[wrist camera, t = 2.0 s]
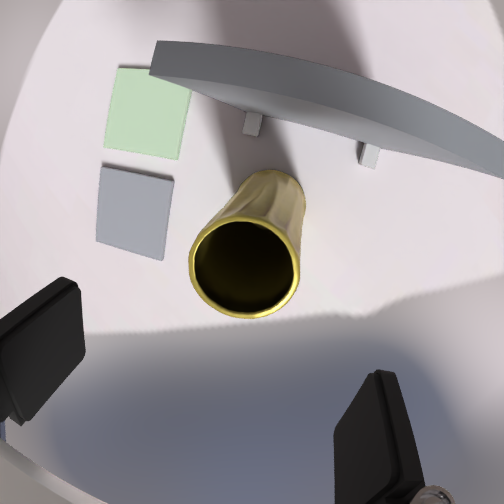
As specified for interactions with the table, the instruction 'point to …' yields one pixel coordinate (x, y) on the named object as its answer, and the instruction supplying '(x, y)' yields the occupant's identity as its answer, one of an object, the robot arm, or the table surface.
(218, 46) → the screen
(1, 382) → the robot arm
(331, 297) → the table surface
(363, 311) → the table surface
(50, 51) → the table surface
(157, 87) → the pad sage
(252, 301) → the vase
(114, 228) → the pad slate
